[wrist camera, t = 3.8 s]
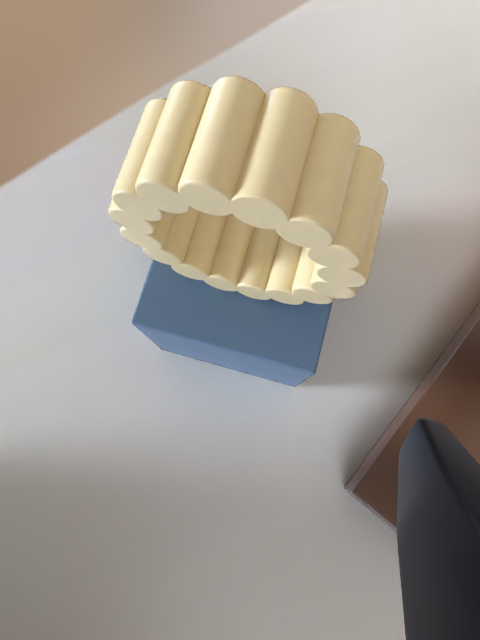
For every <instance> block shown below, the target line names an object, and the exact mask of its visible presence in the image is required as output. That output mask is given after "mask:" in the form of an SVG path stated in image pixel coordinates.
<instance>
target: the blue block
mask: <svg viewBox="0 0 480 640" xmlns="http://www.w3.org/2000/svg"><path fill="white" fill-rule="evenodd" d="M332 302H333V301H332ZM332 302H331V303H329V304H315V303H310V302H307V301H304V302H303V303H302V304H299V305H292V304H285V303H281V302H278V301H276V300H273V299H269V300H259V299H254V298H250V297H247V296H245V295H243V294H241V293H239V292H238V291H224V290H220V289H217V288H215V287H212V286H210V285H209V284H207V283H206V282H204V280H196V279H192V278H188V277H185V276H183V275H181V274H179V273H177V272H176V271H174V270H173V269H172V268H171V265H167V264H164V263H161V262H158V261H156V260H154V259H153V261H152V264H151V267H150V270H149V272H148V275H147V278H146V281H145V284H144V287H143V290H142V293H141V295H140V298H139V301H138V304H137V307H136V310H135V313H134V316H133V318H132V324H133V325H135V326H136V327H137V328H138V329H139V330H140V331H141V332H142V333H144V334H145V335H146V336H147V337H148V338H149V339H150V340H152V341H153V342H154V343H155V344H156V345H157V346H158V347H160V348H161V349H162V350H166V351H169V352H173V353H176V354H180V355H184V356H187V357H191V358H194V359H198V360H201V361H205V362H209V363H212V364H216V365H219V366H223V367H226V368H230V369H233V370H237V371H241V372H244V373H248V374H251V375H255V376H258V377H262V378H266V379H269V380H273V381H276V382H280V383H283V384H287V385H290V386H294V387H295V386H297V385H298V384H300V383H301V382H303V381H304V380H306V379H307V378H309V377H310V376H312V375H313V374H314V373H315V372H316V368H317V364H318V360H319V355H320V351H321V347H322V343H323V339H324V335H325V331H326V326H327V322H328V318H329V314H330V310H331V306H332Z"/></svg>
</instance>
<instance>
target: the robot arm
mask: <svg viewBox="0 0 480 640" xmlns="http://www.w3.org/2000/svg"><path fill="white" fill-rule="evenodd" d="M397 541H398V555H399V566H400V577H401V588H402V600H403V611H404V622H405V633H406V640H480V465H479V464H478V463H477V461H476V460H475V459H474V458H473V457H472V456H471V455H470V453H469V452H468V451H467V450H466V449H465V448H464V446H463V445H462V444H461V443H460V442H459V441H458V440H457V438H456V437H455V436H454V435H453V434H452V433H451V431H450V430H449V429H448V428H447V427H446V426H445V425H444V424H443V423H441V422H438V421H434V420H431V419H427V418H419V419H418V420H417V421H416V422H415V424H414V426H413V428H412V429H411V431H410V433H409V434H408V436H407V438H406V440H405V441H404V443H403V445H402V447H401V450H400V453H399V470H398V507H397Z"/></svg>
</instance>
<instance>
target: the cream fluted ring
mask: <svg viewBox="0 0 480 640" xmlns="http://www.w3.org/2000/svg"><path fill="white" fill-rule="evenodd" d="M359 142H360V133H359V129H358V127H357V126H356V125H355V124H354V123H353V122H352V121H351V120H350V119H348V118H346V117H344V116H341V115H338V114H332V113H324V114H318V108H317V105H316V103H315V102H314V100H313V99H312V98H311V97H310V96H309V95H307V94H306V93H304V92H302V91H300V90H298V89H295V88H291V87H277V88H274V89H271V90H269V91H268V92H267V93H266V94H264V92H263V91H262V90H261V88H260V87H259V86H258V85H256V84H255V83H253V82H252V81H250V80H248V79H246V78H243V77H239V76H225V77H222V78H220V79H219V80H218V81H216V82H215V83H214V85H213V86H212V89H210V88H209V87H207V86H206V85H204V84H202V83H199V82H196V81H191V80H184V81H180V82H177V83H176V84H175V85H174V86H173V87H172V88H171V90H170V92H169V95H168V98H167V99H162V98H157V99H153V100H151V101H149V102H148V103H147V104H146V106H145V109H144V111H143V114H142V116H141V119H140V122H139V124H138V127H137V129H136V132H135V135H134V137H133V140H132V142H131V145H130V148H129V150H128V153H127V155H126V158H125V161H124V163H123V166H122V168H121V171H120V174H119V176H118V179H117V181H116V184H115V187H114V189H113V192H112V201H111V204H110V207H109V209H108V215H109V217H110V218H111V219H112V220H113V221H114V222H116V223H117V224H119V225H120V226H121V228H120V233H121V235H122V236H123V237H124V238H125V239H126V240H128V241H129V242H131V243H133V244H135V245H137V246H140V247H143V252H144V253H145V254H146V255H147V256H149V257H150V258H152V259H154V260H156V261H158V262H161V263H164V264H167V265H171V268H172V269H173V270H174V271H176V272H177V273H179V274H181V275H183V276H185V277H188V278H192V279H196V280H204V282H206V283H207V284H209V285H210V286H212V287H215V288H217V289H220V290H224V291H238V292H239V293H241V294H243V295H245V296H247V297H250V298H254V299H259V300H269V299H273V300H276V301H278V302H281V303H285V304H292V305H299V304H302V303H303V302H304V301H307V302H310V303H315V304H329V303H331V302H332V301H333V300H334V298H339V299H347V298H352V297H354V296H355V295H356V294H357V290H358V287H360V286H364V285H365V284H366V283H367V282H368V279H369V274H370V270H371V265H372V261H373V256H374V252H375V247H376V243H377V239H378V234H379V230H380V225H381V221H382V216H383V212H384V207H385V203H386V198H387V194H388V189H387V186H386V184H385V183H384V182H383V181H381V178H382V174H383V169H384V162H383V159H382V157H381V156H380V155H379V154H378V153H377V152H376V151H374V150H373V149H371V148H368V147H365V146H360V145H359Z"/></svg>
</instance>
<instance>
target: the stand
mask: <svg viewBox="0 0 480 640" xmlns="http://www.w3.org/2000/svg"><path fill="white" fill-rule="evenodd" d="M419 418H427V419H431V420H434V421H438V422H441V423H443V424H444V425H445V426H446V427H447V428H448V429H449V430H450V431H451V433H452V434H453V435H454V436H455V437H456V438H457V440H458V441H459V442H460V443H461V444H462V445H463V446H464V448H465V449H466V450H467V451H468V452H469V453H470V455H471V456H472V457H473V458H474V459H475V460H476V461H477V463H478V464H479V465H480V303H479V304H478V305H477V307H476V308H475V309H474V311H473V312H472V314H471V315H470V316H469V318H468V319H467V320H466V322H465V323H464V324H463V326H462V327H461V329H460V330H459V331H458V333H457V334H456V335H455V337H454V338H453V339H452V341H451V342H450V344H449V345H448V346H447V348H446V349H445V350H444V352H443V353H442V354H441V356H440V357H439V359H438V360H437V361H436V363H435V364H434V365H433V367H432V368H431V369H430V371H429V372H428V374H427V375H426V376H425V378H424V379H423V380H422V382H421V383H420V384H419V386H418V387H417V389H416V390H415V391H414V393H413V394H412V395H411V397H410V398H409V400H408V401H407V402H406V404H405V405H404V406H403V408H402V409H401V410H400V412H399V413H398V415H397V416H396V417H395V419H394V420H393V421H392V423H391V424H390V425H389V427H388V428H387V430H386V431H385V432H384V434H383V435H382V436H381V438H380V439H379V440H378V442H377V443H376V445H375V446H374V447H373V449H372V450H371V451H370V453H369V454H368V455H367V457H366V458H365V460H364V461H363V462H362V464H361V465H360V466H359V468H358V469H357V471H356V472H355V473H354V475H353V476H352V477H351V479H350V480H349V481H348V483H347V484H346V486H345V489H346V490H347V491H348V492H349V493H350V494H352V495H353V496H354V497H355V498H356V499H357V500H359V501H360V502H361V503H362V504H363V505H365V506H366V507H367V508H368V509H369V510H370V511H372V512H373V513H374V514H375V515H376V516H378V517H379V518H380V519H381V520H382V521H383V522H385V523H386V524H387V525H388V526H389V527H391V528H392V529H393V530H394V531H395V532H397V507H398V470H399V453H400V450H401V447H402V445H403V443H404V441H405V440H406V438H407V436H408V434H409V433H410V431H411V429H412V428H413V426H414V424H415V422H416V421H417V420H418V419H419Z"/></svg>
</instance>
